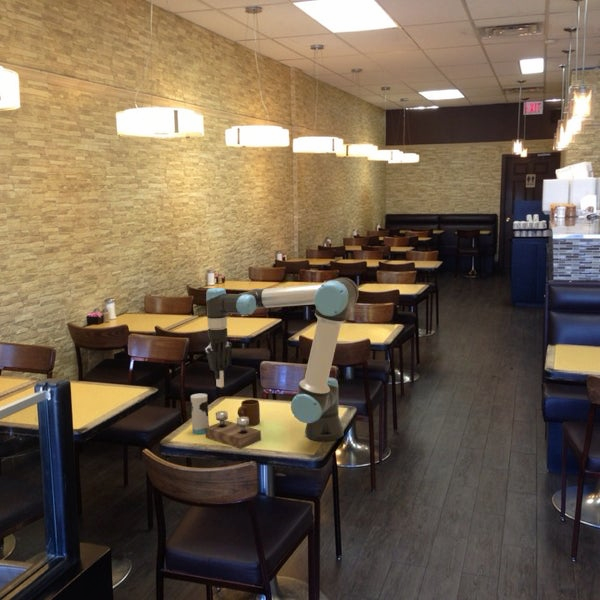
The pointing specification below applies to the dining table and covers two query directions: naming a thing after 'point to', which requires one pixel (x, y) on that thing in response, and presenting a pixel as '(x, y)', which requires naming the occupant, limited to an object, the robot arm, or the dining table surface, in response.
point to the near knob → (243, 423)
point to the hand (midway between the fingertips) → (220, 386)
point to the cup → (199, 413)
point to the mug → (250, 411)
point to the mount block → (233, 434)
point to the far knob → (222, 417)
